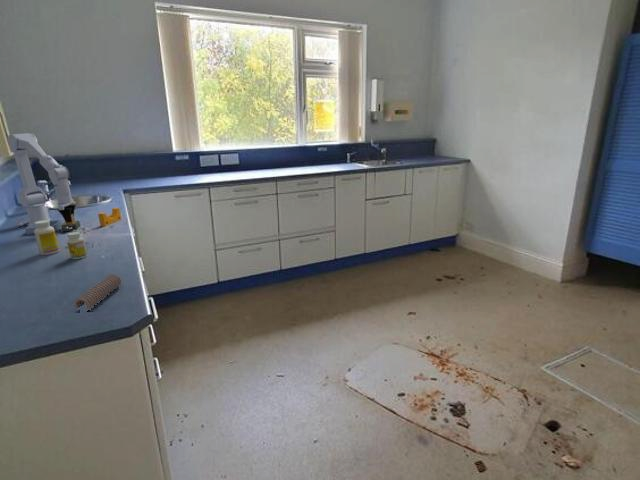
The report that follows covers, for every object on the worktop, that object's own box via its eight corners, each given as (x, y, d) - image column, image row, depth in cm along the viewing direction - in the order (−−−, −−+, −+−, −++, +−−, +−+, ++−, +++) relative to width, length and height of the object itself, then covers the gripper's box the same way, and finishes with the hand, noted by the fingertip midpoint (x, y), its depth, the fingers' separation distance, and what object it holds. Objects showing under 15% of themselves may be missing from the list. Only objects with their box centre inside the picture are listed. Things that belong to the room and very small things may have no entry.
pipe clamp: (113, 219, 200) (111, 207, 198) (121, 219, 199) (119, 207, 197) (97, 226, 189) (94, 213, 187) (105, 226, 188) (102, 213, 186)
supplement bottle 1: (63, 250, 155) (56, 220, 151) (48, 256, 150) (39, 224, 145) (51, 249, 158) (44, 218, 153) (35, 254, 152) (27, 223, 148)
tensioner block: (66, 226, 188) (65, 221, 187) (80, 225, 189) (79, 220, 188) (58, 233, 178) (57, 227, 177) (73, 232, 179) (72, 226, 179)
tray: (36, 227, 187) (35, 221, 186) (63, 225, 190) (61, 219, 189) (26, 234, 177) (24, 228, 176) (54, 232, 179) (53, 226, 178)
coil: (106, 273, 122) (69, 300, 105) (120, 272, 122) (85, 299, 105) (110, 286, 124) (74, 315, 107) (124, 285, 123) (90, 314, 106)
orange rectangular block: (69, 226, 187) (66, 214, 185) (75, 226, 187) (73, 213, 185) (66, 228, 184) (63, 215, 182) (73, 228, 185) (70, 215, 183)
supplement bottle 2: (89, 256, 149) (84, 232, 146) (75, 260, 145) (69, 236, 142) (82, 253, 152) (77, 230, 149) (68, 257, 148) (62, 234, 145)
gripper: (67, 195, 175) (74, 224, 179) (77, 189, 188) (83, 216, 192) (50, 196, 173) (57, 225, 177) (61, 190, 186) (68, 217, 191)
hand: (70, 221), depth 185 cm, fingers closed on orange rectangular block, 3 cm apart
